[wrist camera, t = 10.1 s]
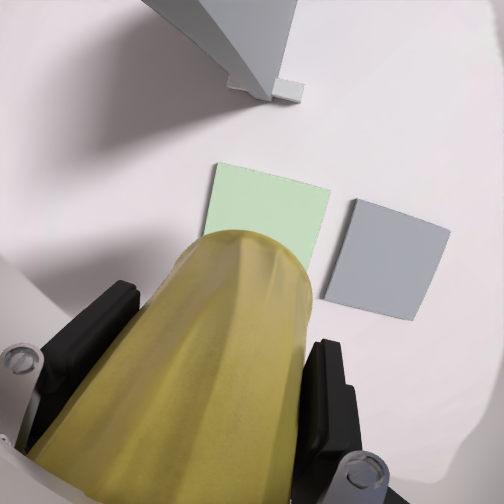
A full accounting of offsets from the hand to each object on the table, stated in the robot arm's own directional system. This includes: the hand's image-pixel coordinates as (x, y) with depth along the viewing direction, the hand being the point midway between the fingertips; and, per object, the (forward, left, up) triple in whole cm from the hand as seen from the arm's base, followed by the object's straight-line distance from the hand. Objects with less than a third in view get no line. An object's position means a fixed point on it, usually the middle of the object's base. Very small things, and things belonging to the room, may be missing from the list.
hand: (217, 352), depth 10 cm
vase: (0, 0, -4) cm, 4 cm away
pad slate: (+10, 0, -14) cm, 17 cm away
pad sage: (0, 0, -14) cm, 14 cm away
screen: (-2, +15, -14) cm, 21 cm away
